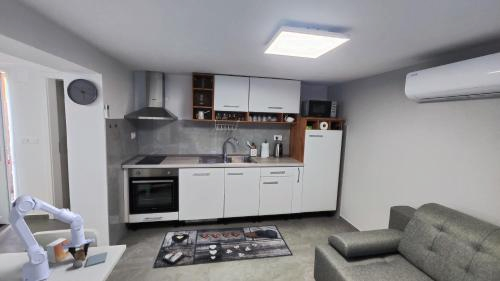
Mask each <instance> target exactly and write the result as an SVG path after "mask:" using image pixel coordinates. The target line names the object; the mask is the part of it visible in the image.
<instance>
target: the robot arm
mask: <svg viewBox="0 0 500 281" xmlns="http://www.w3.org/2000/svg"><path fill="white" fill-rule="evenodd" d="M38 210H41V211H43V212H47V213H49V214H52V215H54V218H55V219H56V220H58V221H60V222H63V223H66V224H70V235H71V242H69V243H68V244H66V245H63V250H65V249H67V248H68V252H69V254H71V256H72V257H73V259H74V260H75V252H76V250H77V248H79V247H83V246H84V247H83V248H84V252H85V257H86V258H87V256H88V252H89V248H90V247H89V246H90V244H94V243H95V238H86V237H85V231H84V230H85V229H84V225H83V224H84V222H85V221H84V219H83V217H82V216H81V215H80V214H79V213H77V212H75V213H74V212H73V211H70V209H69V208H57V207H56V206H54V205H52V204H50V203H48V202H46V201H44V200H42V199H39V198H37V197H32V196H31V195H29V194H22V195H20V196H18V197H17V198H16V199H14V201H13V202H12V203H11V208H10V211H9V213H8V216H7V220H8V222H9V224H10V226H11V227H12V229H13V230H14V233H16V236H17V237H18V239H19V241H20V242H21V243H22V245H23V247H24V248H25V251H26V253H27V256H28V259H29V260H28V262H27V263H24V264H23V266H22V268H21V276H22V281H43V280H44V281H45V280H47V279H48V278H49V277H50V275H51V274H52V272H53V268H50V267H49V266H50V265H49V262H48V257H47V252H46V251H45V248H44V246H42V245H41V244H39V242H38V241H37V240H36V239H35V237H34V236H35V235H33V233H32V231H31V230H30V227H29V226H28V224H27V223H26V221H25V219H24V217H25V216H26V215H27V214H28V213H29V212H30V211H38ZM87 251H88V252H87Z"/></svg>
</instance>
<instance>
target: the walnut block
mask: <svg viewBox="0 0 500 281" xmlns="http://www.w3.org/2000/svg"><path fill="white" fill-rule="evenodd" d="M79 249H80V248H79ZM79 249H78V250H77V249H76V252H75V259H74V262H75V261H76V260H82V262H84V261H85V260H86V258H87V256H86V257H85V252H84V249H80V250H79Z"/></svg>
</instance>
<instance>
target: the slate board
mask: <svg viewBox="0 0 500 281" xmlns="http://www.w3.org/2000/svg"><path fill="white" fill-rule="evenodd" d="M107 255H108V251H106V252H101V253H97V254H93V255H89V256H88V259H87V260H86V264H85V268H87V267H91V266H95V265H99V264H104V263H105V262H106V260H107V259H106V258H107Z"/></svg>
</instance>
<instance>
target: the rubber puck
mask: <svg viewBox="0 0 500 281" xmlns="http://www.w3.org/2000/svg"><path fill="white" fill-rule="evenodd" d="M82 267H83V261H82V260H76V261H75V260H74V261H73V262H72V268H73V270H79V269H81V268H82Z"/></svg>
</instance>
